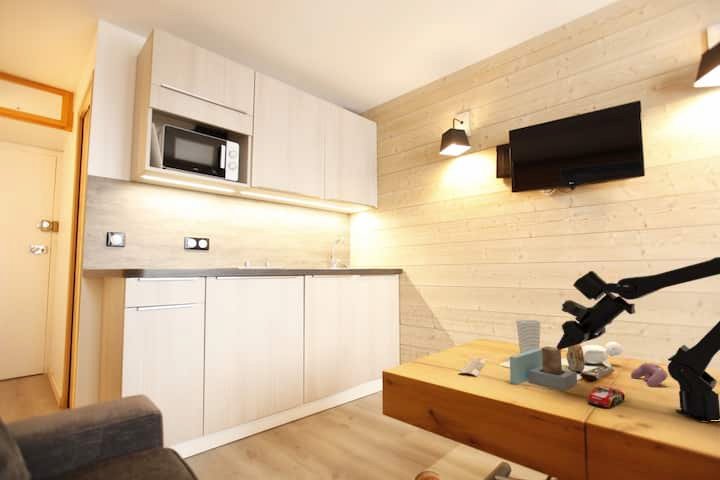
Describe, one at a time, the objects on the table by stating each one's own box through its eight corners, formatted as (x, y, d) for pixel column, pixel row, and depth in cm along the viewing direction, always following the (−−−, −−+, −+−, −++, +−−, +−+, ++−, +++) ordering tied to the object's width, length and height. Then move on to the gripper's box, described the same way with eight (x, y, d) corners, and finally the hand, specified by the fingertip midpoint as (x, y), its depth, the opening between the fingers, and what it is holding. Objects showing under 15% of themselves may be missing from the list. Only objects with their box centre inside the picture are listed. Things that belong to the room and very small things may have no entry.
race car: (605, 395, 100) (604, 380, 100) (628, 400, 95) (627, 385, 96) (584, 404, 92) (583, 388, 93) (607, 411, 88) (607, 394, 88)
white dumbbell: (586, 374, 129) (631, 362, 125) (575, 352, 131) (619, 339, 126) (581, 368, 137) (623, 357, 133) (570, 347, 139) (612, 335, 134)
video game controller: (663, 393, 105) (673, 372, 105) (647, 385, 106) (657, 364, 106) (643, 383, 115) (652, 363, 115) (628, 375, 116) (638, 356, 116)
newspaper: (470, 361, 139) (470, 356, 139) (489, 363, 136) (489, 358, 136) (458, 377, 118) (458, 371, 118) (480, 380, 115) (480, 374, 115)
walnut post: (562, 381, 109) (560, 348, 110) (557, 384, 106) (555, 350, 107) (548, 378, 112) (547, 346, 113) (543, 381, 109) (541, 348, 110)
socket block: (577, 385, 108) (576, 372, 109) (564, 392, 102) (563, 378, 102) (543, 377, 116) (543, 365, 116) (529, 384, 110) (528, 370, 110)
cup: (528, 366, 129) (526, 322, 131) (512, 360, 137) (511, 319, 139) (547, 364, 131) (545, 322, 133) (530, 359, 140) (529, 319, 141)
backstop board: (545, 372, 120) (544, 348, 121) (516, 384, 108) (515, 357, 108) (539, 371, 122) (538, 347, 123) (510, 383, 109) (509, 356, 110)
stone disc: (587, 375, 118) (585, 344, 119) (574, 374, 119) (573, 344, 120) (578, 367, 128) (576, 339, 129) (566, 366, 129) (565, 338, 130)
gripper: (590, 290, 111) (555, 322, 118) (567, 292, 99) (529, 328, 106) (623, 318, 104) (583, 350, 111) (602, 323, 92) (559, 359, 99)
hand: (563, 346), depth 107 cm, fingers open, 9 cm apart
